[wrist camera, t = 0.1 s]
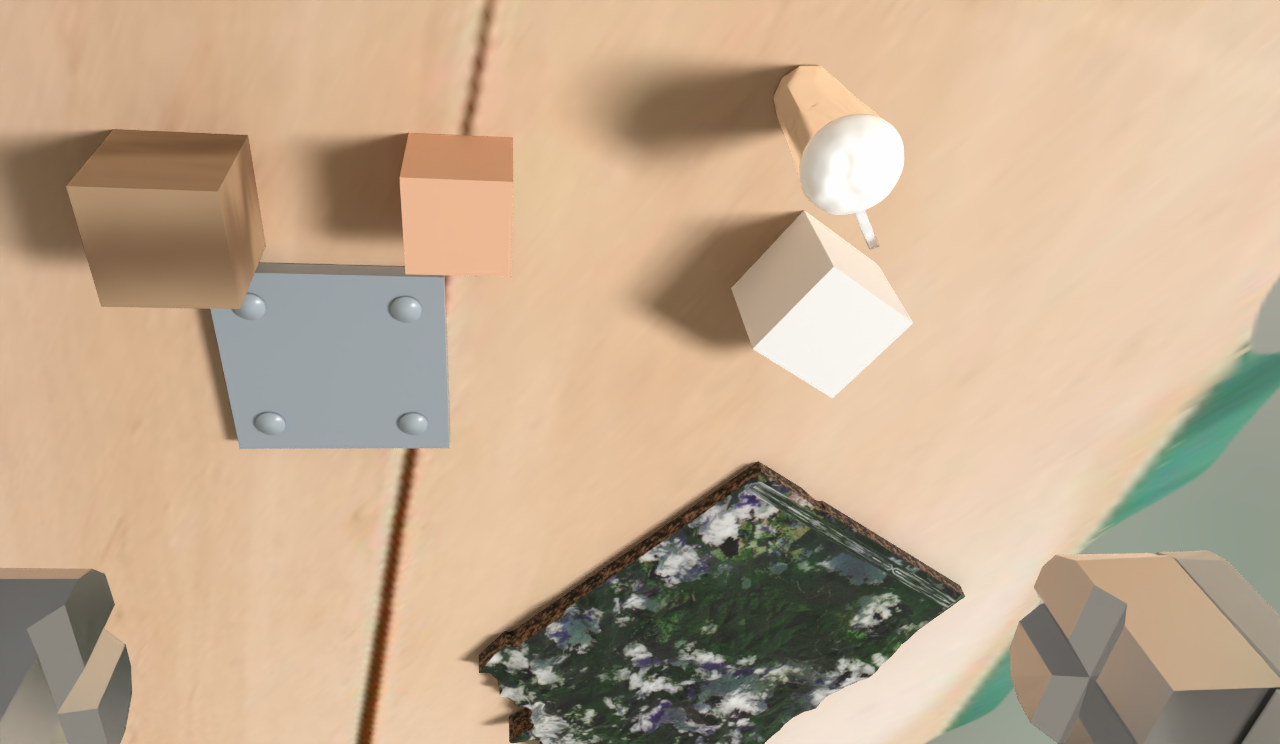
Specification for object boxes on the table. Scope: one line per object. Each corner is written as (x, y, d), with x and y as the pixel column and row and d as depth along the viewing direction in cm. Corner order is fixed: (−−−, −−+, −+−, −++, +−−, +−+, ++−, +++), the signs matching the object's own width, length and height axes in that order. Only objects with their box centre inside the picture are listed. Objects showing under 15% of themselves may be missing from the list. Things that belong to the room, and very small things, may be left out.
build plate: (207, 261, 48) (201, 273, 47) (444, 267, 50) (443, 279, 49) (243, 437, 56) (238, 450, 55) (450, 437, 57) (449, 450, 56)
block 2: (408, 132, 46) (399, 177, 42) (512, 136, 46) (513, 181, 42) (413, 223, 49) (405, 274, 45) (511, 227, 49) (511, 276, 45)
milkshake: (772, 164, 49) (823, 263, 41) (752, 67, 45) (803, 153, 37) (857, 138, 48) (925, 233, 40) (843, 38, 45) (915, 119, 37)
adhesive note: (803, 208, 51) (834, 265, 46) (877, 263, 53) (913, 322, 48) (730, 287, 53) (752, 349, 48) (804, 336, 56) (832, 399, 51)
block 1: (113, 128, 44) (65, 186, 39) (248, 134, 45) (217, 191, 40) (141, 241, 47) (101, 306, 43) (265, 244, 48) (239, 308, 44)
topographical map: (957, 579, 72) (972, 611, 70) (673, 779, 85) (678, 811, 83) (719, 432, 60) (727, 464, 58) (432, 691, 73) (429, 726, 71)
